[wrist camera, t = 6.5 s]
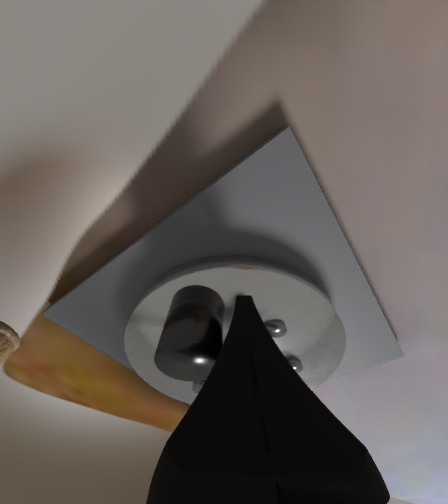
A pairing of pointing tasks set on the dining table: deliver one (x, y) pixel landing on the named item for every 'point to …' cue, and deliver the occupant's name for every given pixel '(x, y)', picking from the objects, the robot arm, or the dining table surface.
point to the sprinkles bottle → (7, 341)
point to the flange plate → (229, 322)
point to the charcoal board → (239, 254)
